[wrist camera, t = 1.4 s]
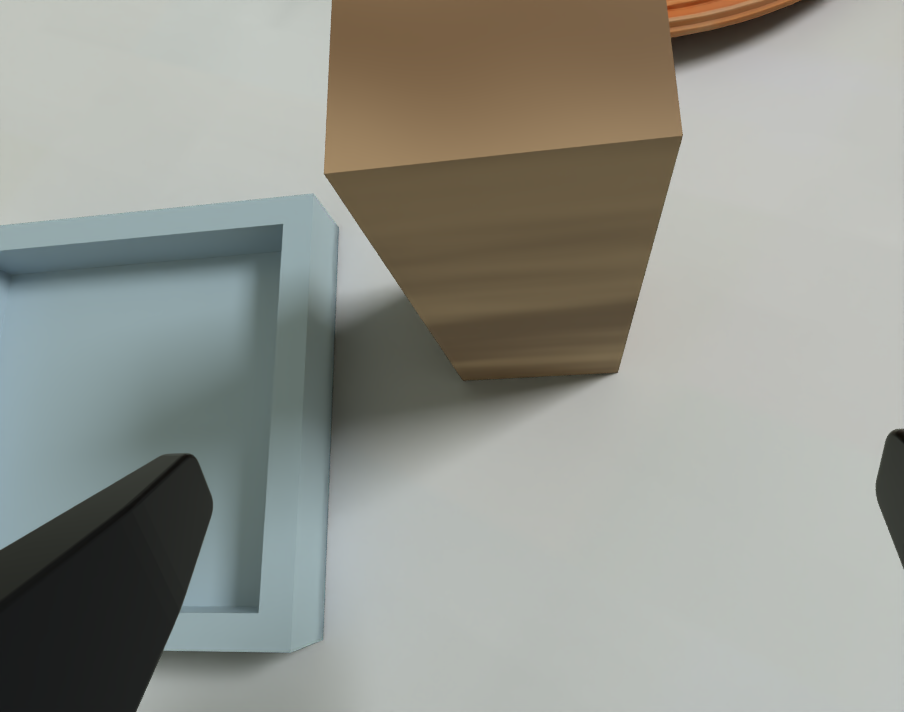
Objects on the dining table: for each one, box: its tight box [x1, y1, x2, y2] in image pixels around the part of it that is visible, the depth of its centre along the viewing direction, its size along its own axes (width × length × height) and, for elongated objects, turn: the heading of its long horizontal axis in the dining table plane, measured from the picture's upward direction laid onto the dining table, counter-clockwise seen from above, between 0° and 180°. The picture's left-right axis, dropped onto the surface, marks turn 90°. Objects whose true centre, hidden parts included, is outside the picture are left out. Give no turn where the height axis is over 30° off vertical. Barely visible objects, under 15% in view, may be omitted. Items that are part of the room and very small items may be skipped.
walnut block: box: [324, 0, 683, 381], centre depth 16 cm, size 4×5×13 cm
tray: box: [0, 194, 339, 653], centre depth 22 cm, size 14×14×2 cm
